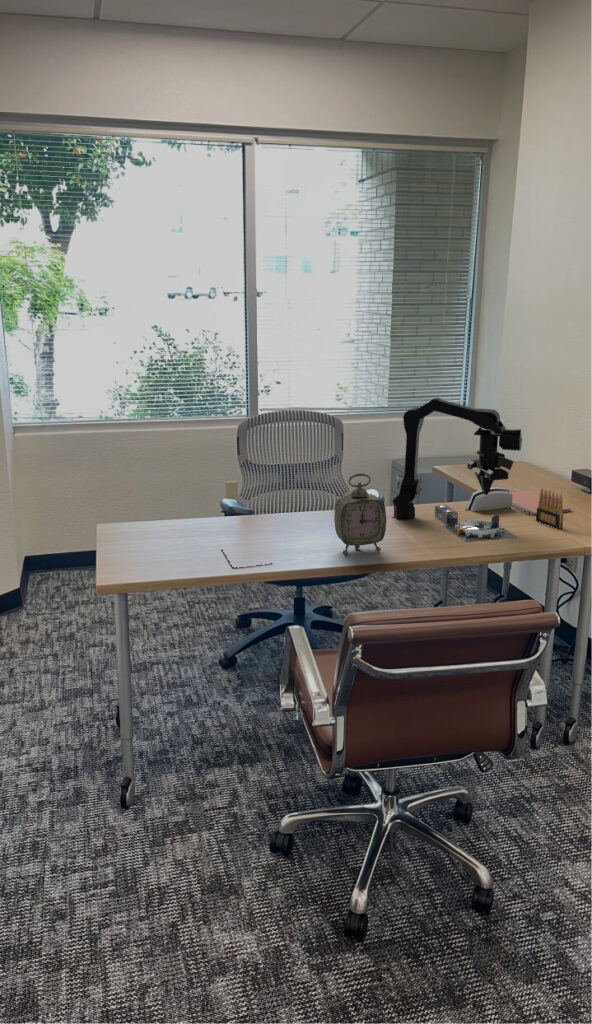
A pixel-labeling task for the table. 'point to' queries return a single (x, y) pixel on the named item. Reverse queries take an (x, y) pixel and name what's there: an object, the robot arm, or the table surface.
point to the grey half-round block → (490, 500)
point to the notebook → (529, 502)
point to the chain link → (446, 514)
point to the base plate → (473, 538)
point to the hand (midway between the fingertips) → (485, 494)
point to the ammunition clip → (550, 509)
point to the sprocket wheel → (480, 527)
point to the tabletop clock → (360, 517)
